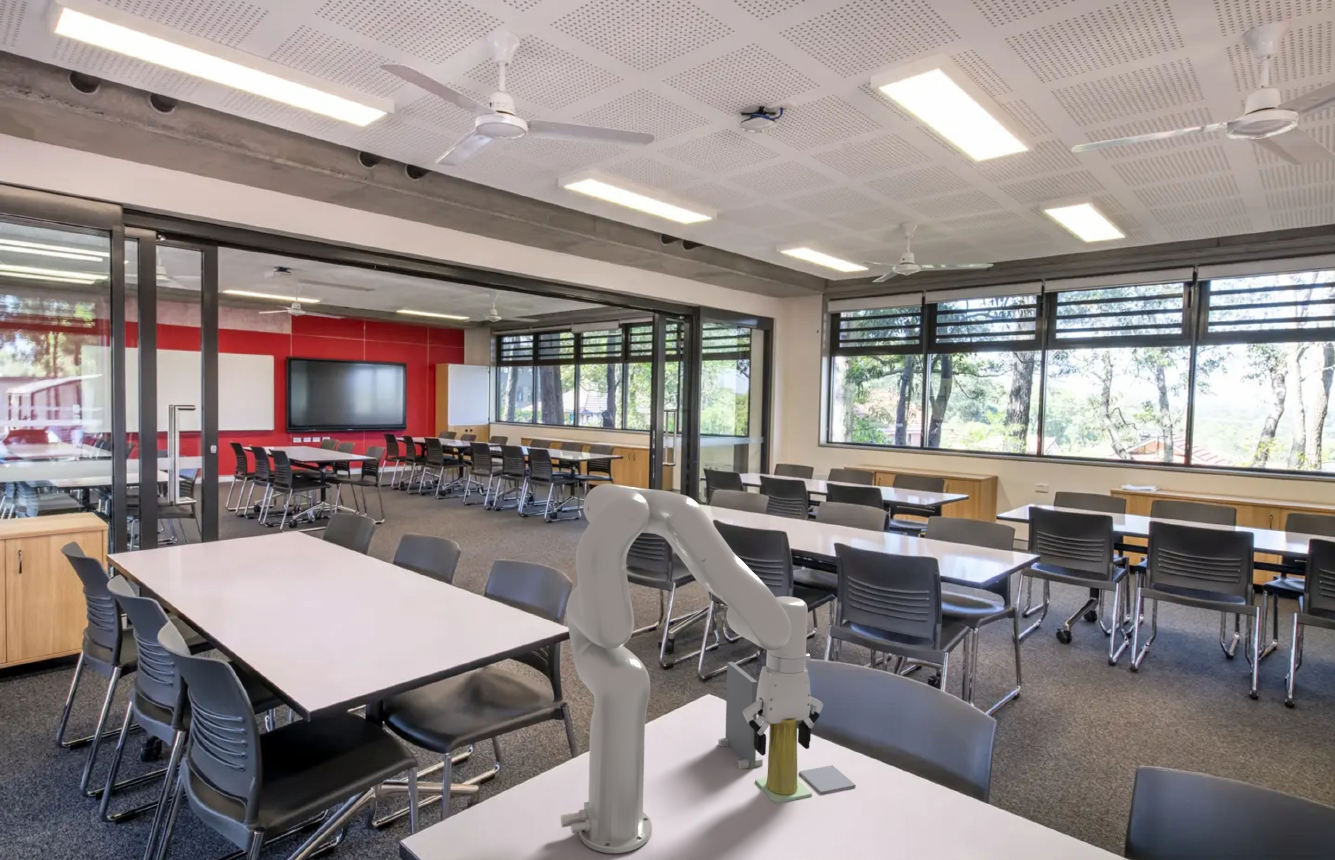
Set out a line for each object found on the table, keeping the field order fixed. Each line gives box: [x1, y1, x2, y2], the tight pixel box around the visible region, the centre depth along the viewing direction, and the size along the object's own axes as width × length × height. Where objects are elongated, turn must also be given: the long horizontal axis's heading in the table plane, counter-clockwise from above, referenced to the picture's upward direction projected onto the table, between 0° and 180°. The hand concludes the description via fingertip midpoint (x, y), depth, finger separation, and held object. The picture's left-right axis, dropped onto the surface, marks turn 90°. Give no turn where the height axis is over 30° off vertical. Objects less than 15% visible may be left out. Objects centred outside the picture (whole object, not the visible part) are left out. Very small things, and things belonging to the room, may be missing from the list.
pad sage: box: [754, 776, 813, 804], centre depth 135 cm, size 8×8×1 cm
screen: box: [717, 661, 764, 770], centre depth 148 cm, size 5×12×18 cm, turn 20°
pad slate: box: [798, 764, 857, 795], centre depth 139 cm, size 8×8×1 cm
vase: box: [766, 718, 798, 795], centre depth 135 cm, size 6×6×14 cm
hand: (782, 748), depth 135 cm, fingers open, 9 cm apart
